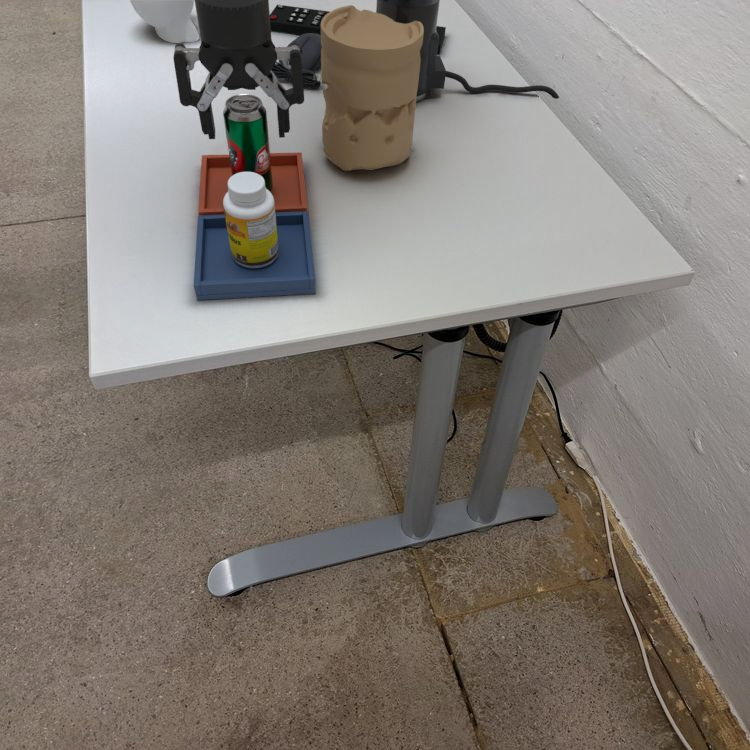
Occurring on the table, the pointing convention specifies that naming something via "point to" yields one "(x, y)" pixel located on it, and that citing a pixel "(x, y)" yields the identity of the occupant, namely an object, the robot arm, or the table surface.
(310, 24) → the remote control
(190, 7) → the figurine
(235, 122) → the soda can
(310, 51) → the computer mouse
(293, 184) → the terracotta tray
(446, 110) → the table surface
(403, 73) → the container
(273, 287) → the blue tray
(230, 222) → the supplement bottle
